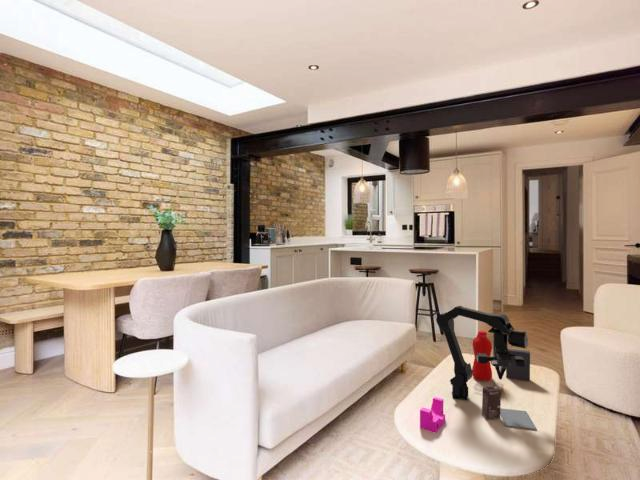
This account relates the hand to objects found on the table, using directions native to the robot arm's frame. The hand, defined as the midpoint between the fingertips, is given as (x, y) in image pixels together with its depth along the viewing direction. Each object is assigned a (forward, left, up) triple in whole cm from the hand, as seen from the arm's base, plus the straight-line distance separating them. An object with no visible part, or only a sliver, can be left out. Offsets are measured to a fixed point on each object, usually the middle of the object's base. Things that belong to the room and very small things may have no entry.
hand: (500, 379), depth 163 cm
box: (-5, -9, -13) cm, 17 cm away
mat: (+5, -8, -13) cm, 16 cm away
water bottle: (-3, +35, -13) cm, 38 cm away
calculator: (+16, +39, -13) cm, 44 cm away
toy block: (-28, -20, -14) cm, 37 cm away
